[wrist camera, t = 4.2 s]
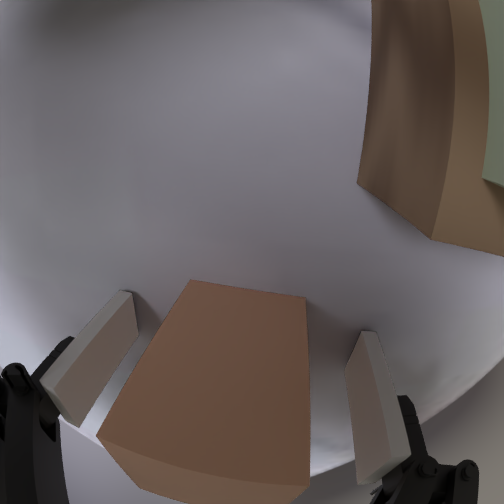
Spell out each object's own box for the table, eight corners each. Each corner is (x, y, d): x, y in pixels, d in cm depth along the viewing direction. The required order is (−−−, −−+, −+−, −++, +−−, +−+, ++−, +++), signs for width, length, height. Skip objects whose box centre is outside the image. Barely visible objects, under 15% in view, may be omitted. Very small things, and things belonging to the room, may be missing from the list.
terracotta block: (190, 279, 12) (95, 435, 5) (305, 297, 11) (309, 485, 4) (192, 358, 14) (139, 488, 7) (284, 374, 13) (271, 516, 6)
